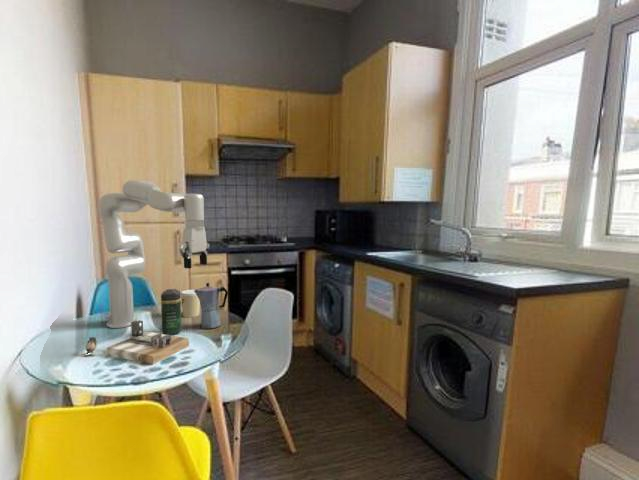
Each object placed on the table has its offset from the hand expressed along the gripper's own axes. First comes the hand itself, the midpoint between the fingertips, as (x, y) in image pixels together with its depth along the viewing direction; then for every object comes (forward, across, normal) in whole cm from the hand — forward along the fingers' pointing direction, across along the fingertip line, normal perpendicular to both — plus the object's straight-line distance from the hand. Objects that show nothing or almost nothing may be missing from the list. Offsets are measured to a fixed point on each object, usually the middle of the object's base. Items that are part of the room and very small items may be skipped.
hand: (195, 266), depth 149 cm
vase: (+30, +27, -26) cm, 49 cm away
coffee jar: (+30, -2, -15) cm, 34 cm away
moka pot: (+30, -15, -4) cm, 34 cm away
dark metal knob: (+26, +17, -11) cm, 33 cm away
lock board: (+30, +17, -8) cm, 36 cm away
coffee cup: (+30, -25, -24) cm, 46 cm away
